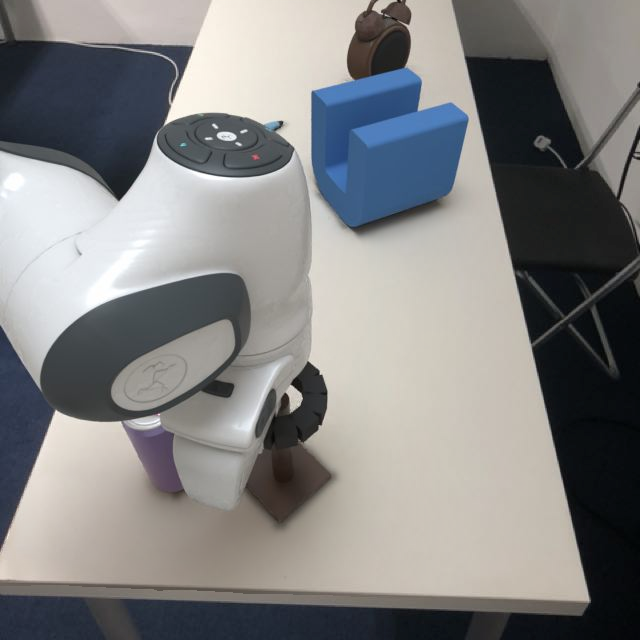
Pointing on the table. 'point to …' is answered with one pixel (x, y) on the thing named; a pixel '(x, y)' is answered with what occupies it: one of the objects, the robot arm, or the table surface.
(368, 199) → the block
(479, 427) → the table surface
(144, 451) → the beverage can
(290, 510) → the post
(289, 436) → the ring
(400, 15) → the alarm clock
